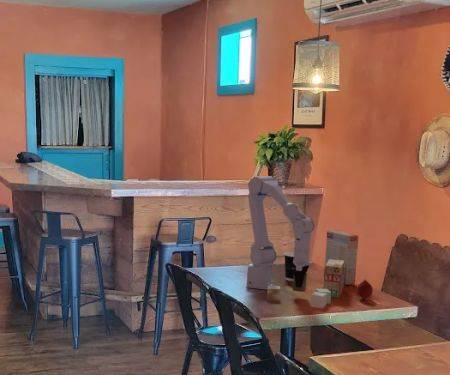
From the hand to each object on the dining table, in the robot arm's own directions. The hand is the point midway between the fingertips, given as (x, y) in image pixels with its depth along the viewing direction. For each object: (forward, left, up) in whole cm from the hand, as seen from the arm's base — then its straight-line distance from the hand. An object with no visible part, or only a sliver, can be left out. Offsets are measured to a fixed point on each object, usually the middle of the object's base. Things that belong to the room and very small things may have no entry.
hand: (299, 285), depth 231 cm
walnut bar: (0, 0, -2) cm, 2 cm away
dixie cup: (-6, +27, -5) cm, 28 cm away
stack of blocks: (+12, +17, -5) cm, 22 cm away
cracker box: (+14, +33, -5) cm, 36 cm away
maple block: (-9, -5, -5) cm, 11 cm away
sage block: (+9, -2, -5) cm, 11 cm away
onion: (+24, +8, -5) cm, 26 cm away
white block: (+8, -7, -5) cm, 12 cm away
